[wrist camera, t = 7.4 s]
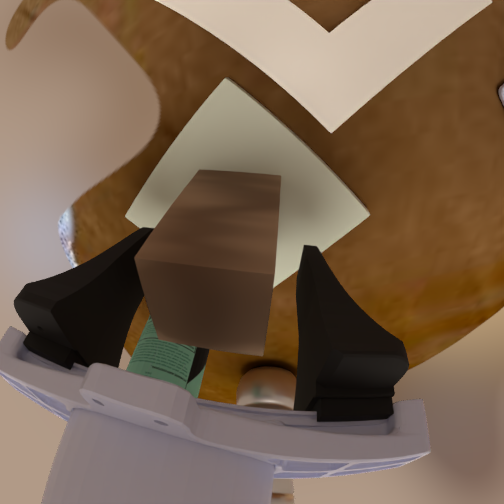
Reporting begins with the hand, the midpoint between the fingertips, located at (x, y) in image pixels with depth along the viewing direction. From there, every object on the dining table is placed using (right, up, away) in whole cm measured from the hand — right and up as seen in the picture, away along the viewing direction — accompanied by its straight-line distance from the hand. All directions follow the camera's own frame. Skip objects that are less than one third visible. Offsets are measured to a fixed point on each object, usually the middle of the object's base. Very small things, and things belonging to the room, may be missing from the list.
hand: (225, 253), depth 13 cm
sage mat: (+1, +3, +4) cm, 5 cm away
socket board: (+4, +15, -6) cm, 16 cm away
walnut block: (0, +3, +3) cm, 4 cm away
